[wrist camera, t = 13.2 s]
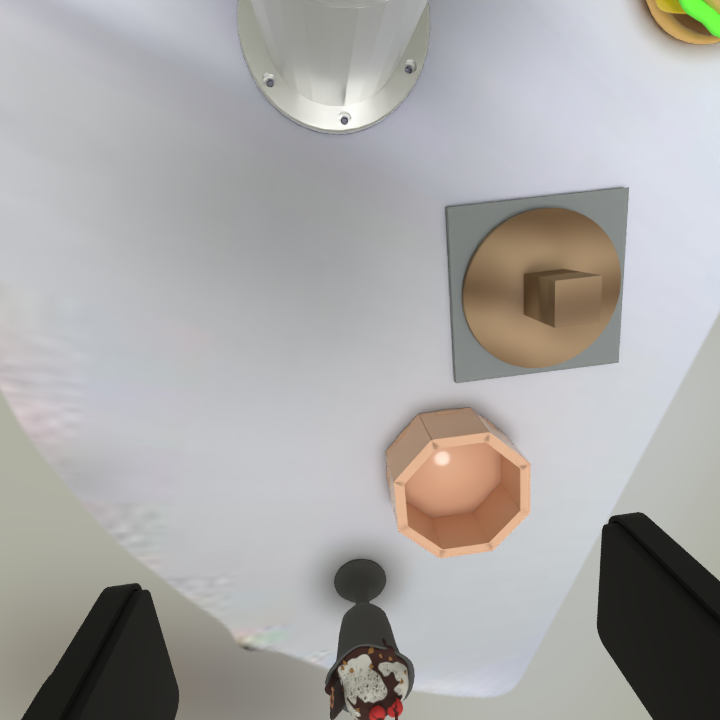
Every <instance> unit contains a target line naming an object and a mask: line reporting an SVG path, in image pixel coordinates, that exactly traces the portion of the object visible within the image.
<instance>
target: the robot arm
mask: <svg viewBox="0 0 720 720" xmlns="http://www.w3.org/2000/svg"><path fill="white" fill-rule="evenodd" d="M237 20H238V34H239V39H240V43H241V47H242V51H243V55H244V58H245V60H246V63H247V65H248V68H249V70H250V72H251V74H252V76H253V78H254V80H255V82H256V84H257V86H258V87H259V89H260V90H261V91H262V93H263V94H264V95H265V97H266V98H267V99H268V101H269V102H270V103H271V104H272V105H273V106H274V107H275V108H276V109H277V110H279V111H280V112H281V113H282V114H283V115H284V116H286V117H287V118H289V119H290V120H292V121H294V122H295V123H297V124H298V125H300V126H303V127H305V128H308V129H311V130H313V131H316V132H322V133H328V134H348V133H353V132H357V131H361V130H364V129H367V128H369V127H371V126H373V125H375V124H377V123H379V122H381V121H382V120H384V119H385V118H386V117H388V116H389V115H390V114H391V113H393V112H394V111H395V110H396V109H397V108H398V107H399V105H400V104H401V103H402V102H403V101H404V100H405V99H406V97H407V96H408V94H409V93H410V91H411V90H412V88H413V87H414V85H415V83H416V81H417V79H418V77H419V75H420V73H421V70H422V68H423V64H424V61H425V57H426V54H427V50H428V43H429V34H430V16H429V4H428V0H238V8H237ZM406 67H410V68H411V70H412V72H411V73H410V74H408V73H407V72H406V71H405V68H406ZM269 80H272V81H273V82H274V85H273V86H272V87H268V86H267V82H268V81H269ZM342 118H346V119H347V120H348V123H347V124H346V125H344V124H342V123H341V119H342ZM601 542H602V543H601V560H600V579H599V596H598V614H597V616H598V617H597V629H598V633H599V637H600V639H601V641H602V643H603V645H604V647H605V648H606V650H607V651H608V653H609V654H610V656H611V657H612V659H613V660H614V662H615V663H616V665H617V666H618V668H619V669H620V671H621V672H622V674H623V675H624V677H625V678H626V680H627V681H628V683H629V684H630V685H631V687H632V689H633V690H634V692H635V693H636V695H637V696H638V698H639V699H640V700H641V702H642V704H643V705H644V707H645V708H646V710H647V711H648V713H649V714H650V715H651V717H652V718H653V720H720V581H719V580H718V579H717V578H716V577H714V576H713V575H712V574H711V573H710V572H709V571H708V570H707V569H705V568H704V567H703V566H702V565H701V564H700V563H699V562H698V561H697V560H695V559H694V558H693V557H692V556H691V555H690V554H689V553H688V552H686V551H685V550H684V549H683V548H682V547H681V546H680V545H679V544H677V543H676V542H675V541H674V540H673V539H672V538H671V537H670V536H669V535H667V534H666V533H665V532H664V531H663V530H662V529H661V528H660V527H659V526H657V525H656V524H655V523H654V522H653V521H652V520H651V519H650V518H648V517H647V516H646V515H645V514H643V513H639V512H637V513H629V514H622V515H615V516H612V517H611V518H610V519H609V523H608V524H606V525H604V526H603V529H602V541H601ZM178 703H179V690H178V685H177V682H176V678H175V675H174V672H173V668H172V665H171V662H170V658H169V655H168V651H167V648H166V645H165V641H164V638H163V634H162V631H161V627H160V624H159V621H158V617H157V614H156V611H155V607H154V604H153V600H152V597H151V594H150V592H149V591H148V590H142V588H141V586H140V585H139V584H137V583H133V584H126V585H119V586H112V587H107V588H105V589H104V590H103V592H102V593H101V594H100V596H99V598H98V599H97V601H96V602H95V604H94V606H93V607H92V609H91V611H90V612H89V614H88V616H87V617H86V619H85V621H84V622H83V624H82V626H81V627H80V629H79V630H78V632H77V634H76V635H75V637H74V639H73V640H72V642H71V643H70V645H69V647H68V648H67V650H66V652H65V653H64V655H63V656H62V658H61V660H60V661H59V663H58V665H57V666H56V668H55V669H54V672H53V673H52V674H51V675H50V676H49V677H48V679H47V680H46V681H45V683H44V684H43V685H42V687H41V689H40V690H39V692H38V693H37V695H36V696H35V698H34V700H33V701H32V703H31V705H30V706H29V708H28V710H27V711H26V713H25V714H24V716H23V718H22V719H21V720H174V719H175V716H176V713H177V709H178Z"/></svg>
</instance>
